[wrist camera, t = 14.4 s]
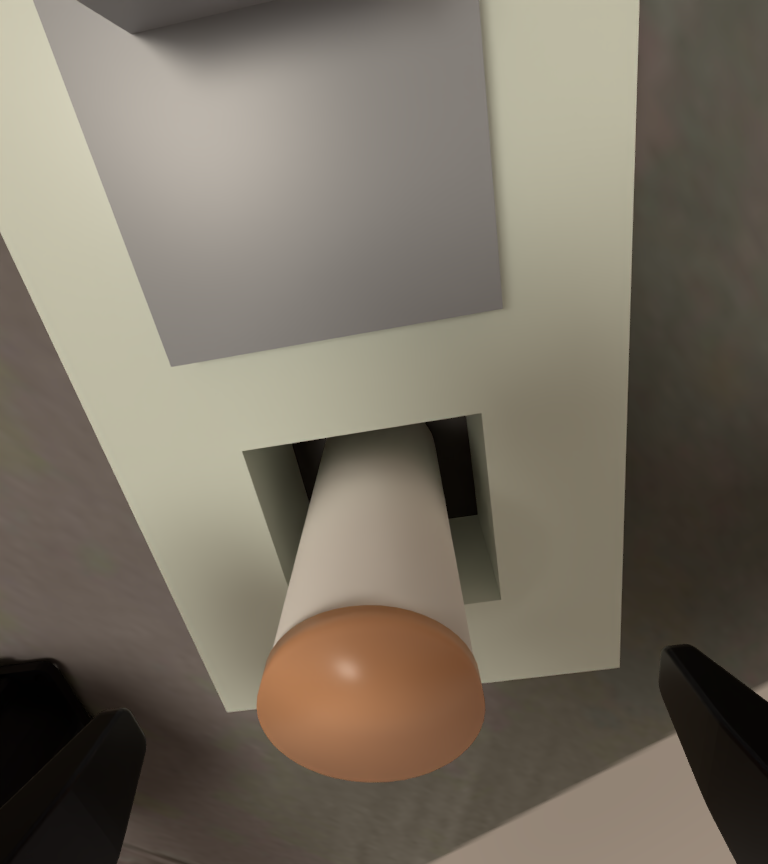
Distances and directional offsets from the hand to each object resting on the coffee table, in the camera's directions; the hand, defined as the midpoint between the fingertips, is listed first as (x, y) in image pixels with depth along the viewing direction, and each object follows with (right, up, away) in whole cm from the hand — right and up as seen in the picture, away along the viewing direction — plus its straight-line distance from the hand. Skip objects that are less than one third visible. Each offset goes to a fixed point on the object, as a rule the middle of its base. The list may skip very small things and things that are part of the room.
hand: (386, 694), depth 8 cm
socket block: (-1, +6, +7) cm, 9 cm away
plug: (0, +4, +8) cm, 9 cm away
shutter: (-2, +9, +1) cm, 10 cm away
